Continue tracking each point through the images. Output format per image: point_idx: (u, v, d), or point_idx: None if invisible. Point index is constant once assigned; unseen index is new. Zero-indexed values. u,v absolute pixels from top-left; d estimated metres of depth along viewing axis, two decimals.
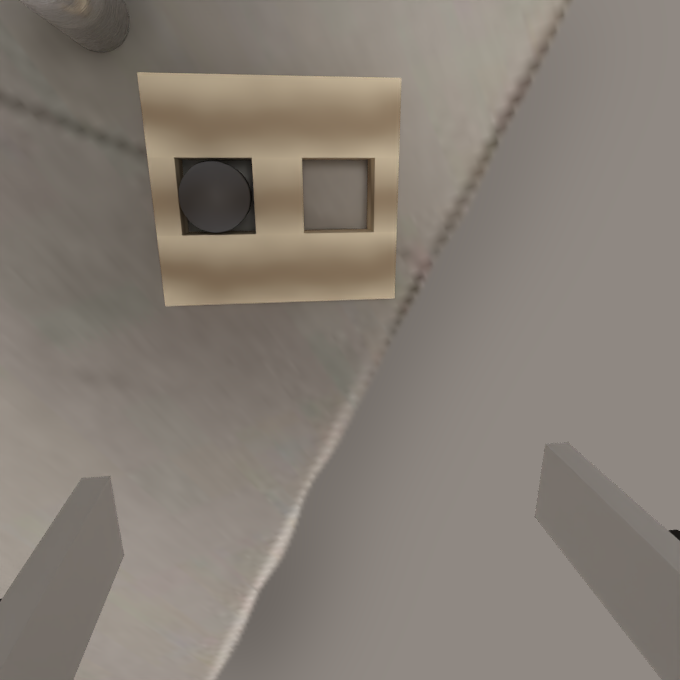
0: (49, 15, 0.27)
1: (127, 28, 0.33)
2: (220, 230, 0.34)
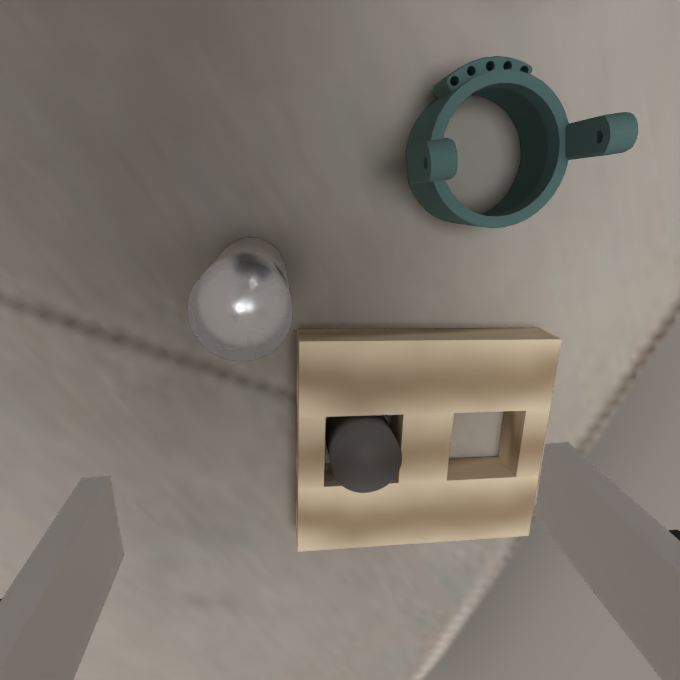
0: None
1: None
2: (369, 490, 0.33)
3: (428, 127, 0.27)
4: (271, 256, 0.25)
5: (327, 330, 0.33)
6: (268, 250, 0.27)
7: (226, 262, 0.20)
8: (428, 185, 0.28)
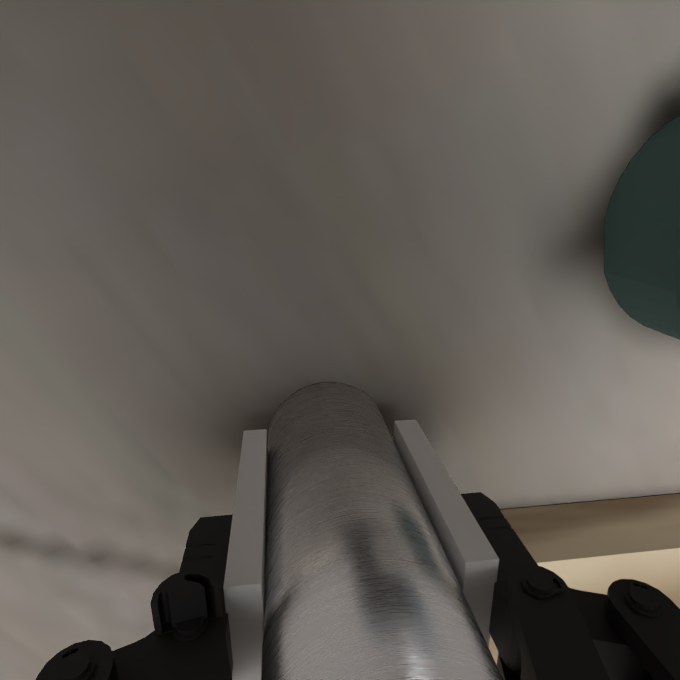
0: None
1: None
2: None
3: None
4: (410, 508, 0.11)
5: None
6: (386, 461, 0.13)
7: None
8: None
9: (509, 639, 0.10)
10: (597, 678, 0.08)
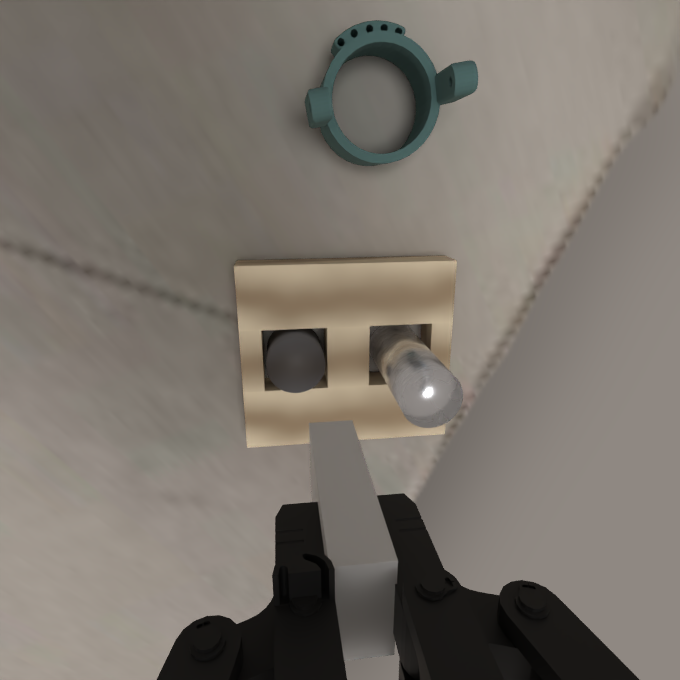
0: None
1: None
2: (300, 391, 0.40)
3: (323, 81, 0.33)
4: (428, 349, 0.37)
5: (261, 260, 0.40)
6: (419, 340, 0.39)
7: (425, 370, 0.32)
8: (328, 130, 0.34)
9: (408, 646, 0.10)
10: (489, 675, 0.08)
